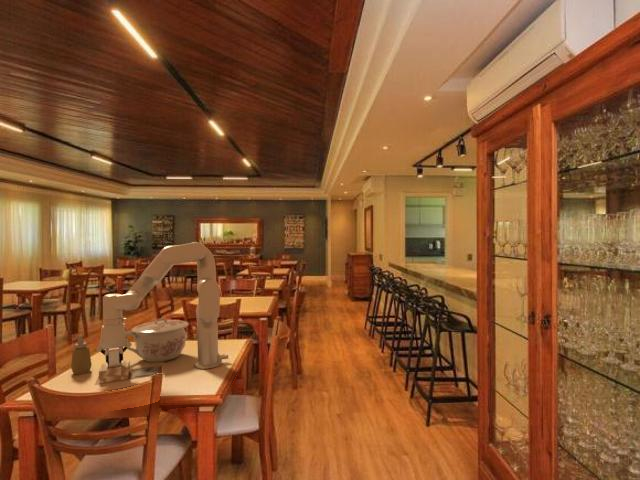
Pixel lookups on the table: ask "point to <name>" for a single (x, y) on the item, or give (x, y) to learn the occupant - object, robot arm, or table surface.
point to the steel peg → (114, 358)
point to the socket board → (124, 373)
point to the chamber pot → (159, 339)
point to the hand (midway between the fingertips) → (114, 362)
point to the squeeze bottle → (81, 358)
